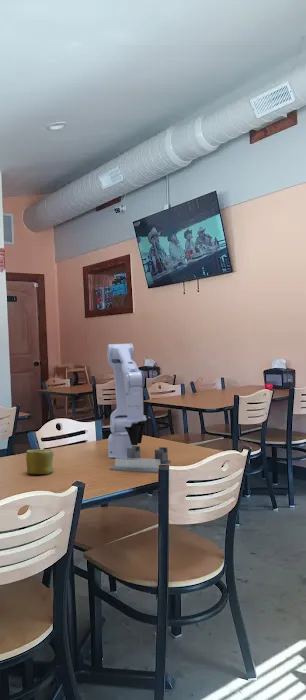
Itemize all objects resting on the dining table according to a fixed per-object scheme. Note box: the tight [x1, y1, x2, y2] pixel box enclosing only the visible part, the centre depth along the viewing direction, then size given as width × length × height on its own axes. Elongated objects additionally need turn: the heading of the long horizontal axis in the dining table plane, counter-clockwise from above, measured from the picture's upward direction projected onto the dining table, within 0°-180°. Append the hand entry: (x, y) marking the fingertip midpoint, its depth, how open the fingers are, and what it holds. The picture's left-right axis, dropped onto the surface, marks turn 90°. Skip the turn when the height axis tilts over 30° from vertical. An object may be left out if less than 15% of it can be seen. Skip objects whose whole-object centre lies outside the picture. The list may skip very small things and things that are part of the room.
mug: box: [25, 448, 55, 475], centre depth 201 cm, size 12×10×10 cm
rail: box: [114, 457, 160, 470], centre depth 201 cm, size 16×3×3 cm
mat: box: [109, 465, 159, 474], centre depth 201 cm, size 18×7×1 cm, turn 69°
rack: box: [127, 445, 172, 465], centre depth 210 cm, size 16×6×6 cm, turn 68°
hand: (136, 444), depth 201 cm, fingers open, 3 cm apart
